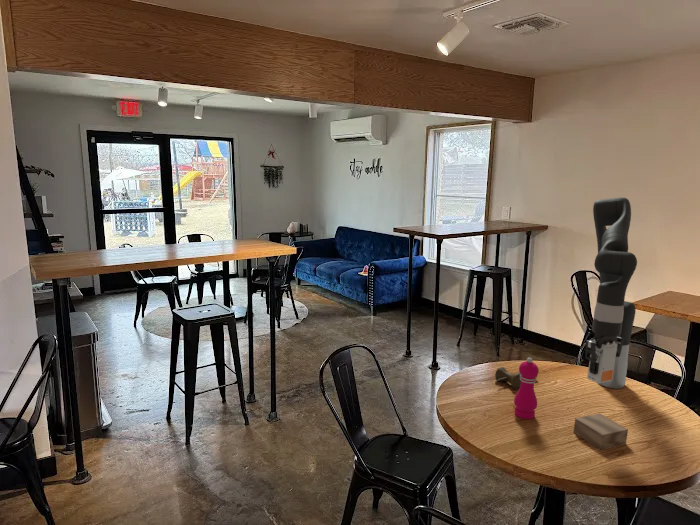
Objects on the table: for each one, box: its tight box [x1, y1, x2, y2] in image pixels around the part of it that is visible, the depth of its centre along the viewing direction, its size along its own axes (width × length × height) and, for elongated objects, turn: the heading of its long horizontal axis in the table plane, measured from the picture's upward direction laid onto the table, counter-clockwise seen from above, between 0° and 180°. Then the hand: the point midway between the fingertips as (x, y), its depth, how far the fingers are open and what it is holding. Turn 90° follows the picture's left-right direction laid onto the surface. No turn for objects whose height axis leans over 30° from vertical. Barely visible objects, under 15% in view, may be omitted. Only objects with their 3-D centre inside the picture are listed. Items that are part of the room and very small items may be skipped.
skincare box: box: [586, 343, 617, 385], centre depth 140 cm, size 6×4×12 cm
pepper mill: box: [513, 357, 539, 420], centre depth 153 cm, size 7×7×20 cm
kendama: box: [494, 366, 538, 390], centre depth 179 cm, size 6×10×20 cm
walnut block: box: [573, 413, 629, 451], centre depth 141 cm, size 10×10×5 cm
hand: (600, 371), depth 140 cm, fingers closed on skincare box, 6 cm apart
